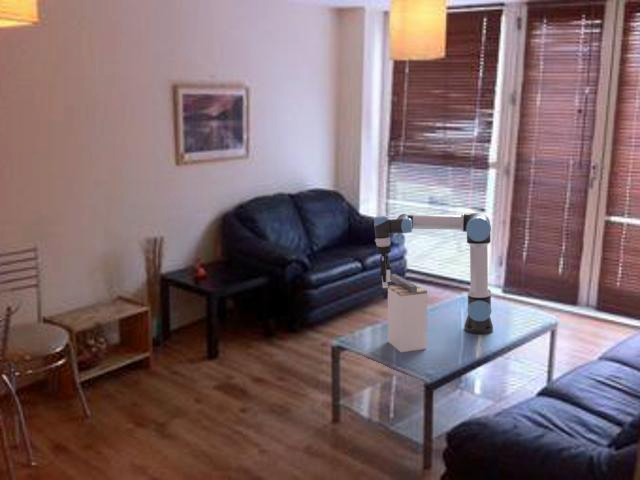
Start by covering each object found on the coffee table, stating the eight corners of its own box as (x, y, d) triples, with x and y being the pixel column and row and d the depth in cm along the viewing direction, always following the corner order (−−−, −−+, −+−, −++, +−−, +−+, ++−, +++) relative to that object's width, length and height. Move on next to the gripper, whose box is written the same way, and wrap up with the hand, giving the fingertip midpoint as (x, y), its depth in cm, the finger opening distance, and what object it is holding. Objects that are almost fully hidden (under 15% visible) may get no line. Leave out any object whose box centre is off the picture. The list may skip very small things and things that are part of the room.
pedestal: (387, 341, 331) (387, 285, 325) (412, 338, 335) (412, 283, 329) (400, 352, 316) (400, 293, 310) (426, 348, 320) (427, 290, 314)
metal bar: (389, 279, 336) (389, 274, 335) (395, 279, 337) (395, 273, 336) (411, 292, 312) (411, 286, 311) (416, 292, 312) (416, 286, 312)
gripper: (379, 241, 348) (383, 279, 352) (372, 250, 325) (376, 290, 328) (393, 240, 347) (396, 278, 350) (387, 249, 323) (391, 290, 326)
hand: (387, 284), depth 339 cm, fingers open, 13 cm apart
